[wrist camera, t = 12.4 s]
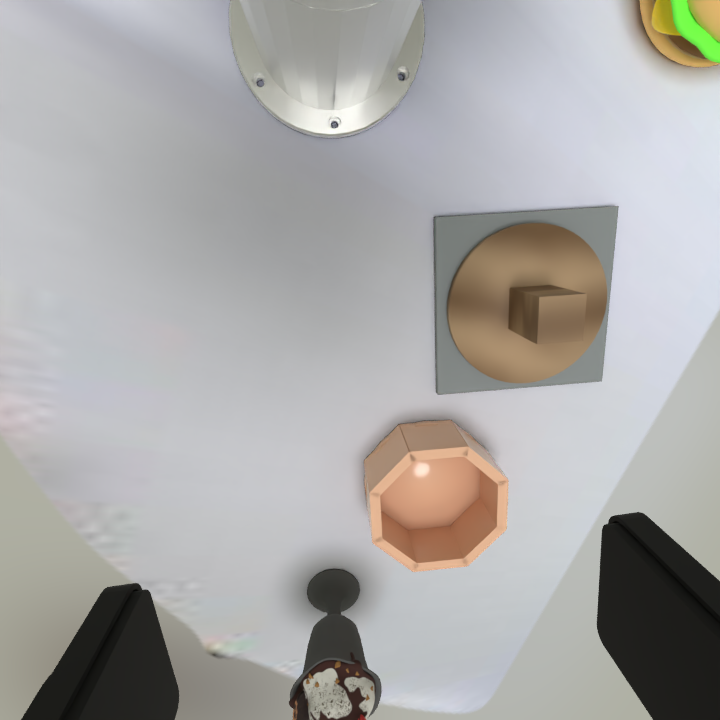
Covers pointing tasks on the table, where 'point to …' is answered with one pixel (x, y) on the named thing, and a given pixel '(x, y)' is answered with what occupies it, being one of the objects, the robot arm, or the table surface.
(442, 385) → the mat
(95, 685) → the robot arm
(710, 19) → the hamburger
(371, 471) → the bowl
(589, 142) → the table surface
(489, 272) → the lid
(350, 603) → the sundae
